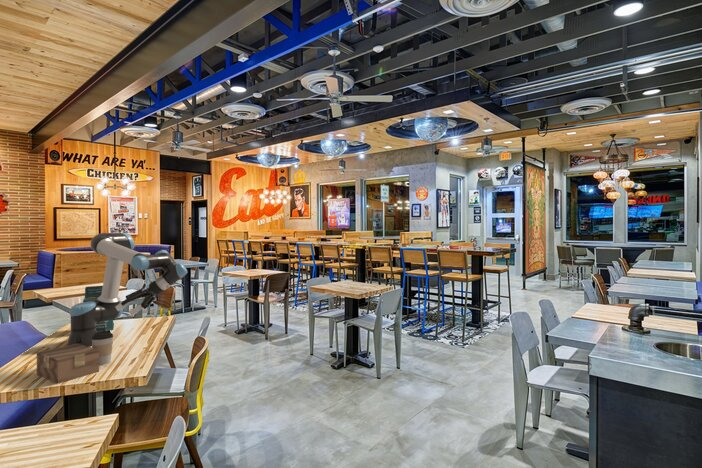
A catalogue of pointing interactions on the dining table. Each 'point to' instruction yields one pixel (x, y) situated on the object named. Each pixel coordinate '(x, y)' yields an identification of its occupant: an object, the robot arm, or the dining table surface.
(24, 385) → the dining table surface
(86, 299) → the donation box
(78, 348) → the walnut box
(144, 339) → the dining table surface
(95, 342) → the coffee cup
